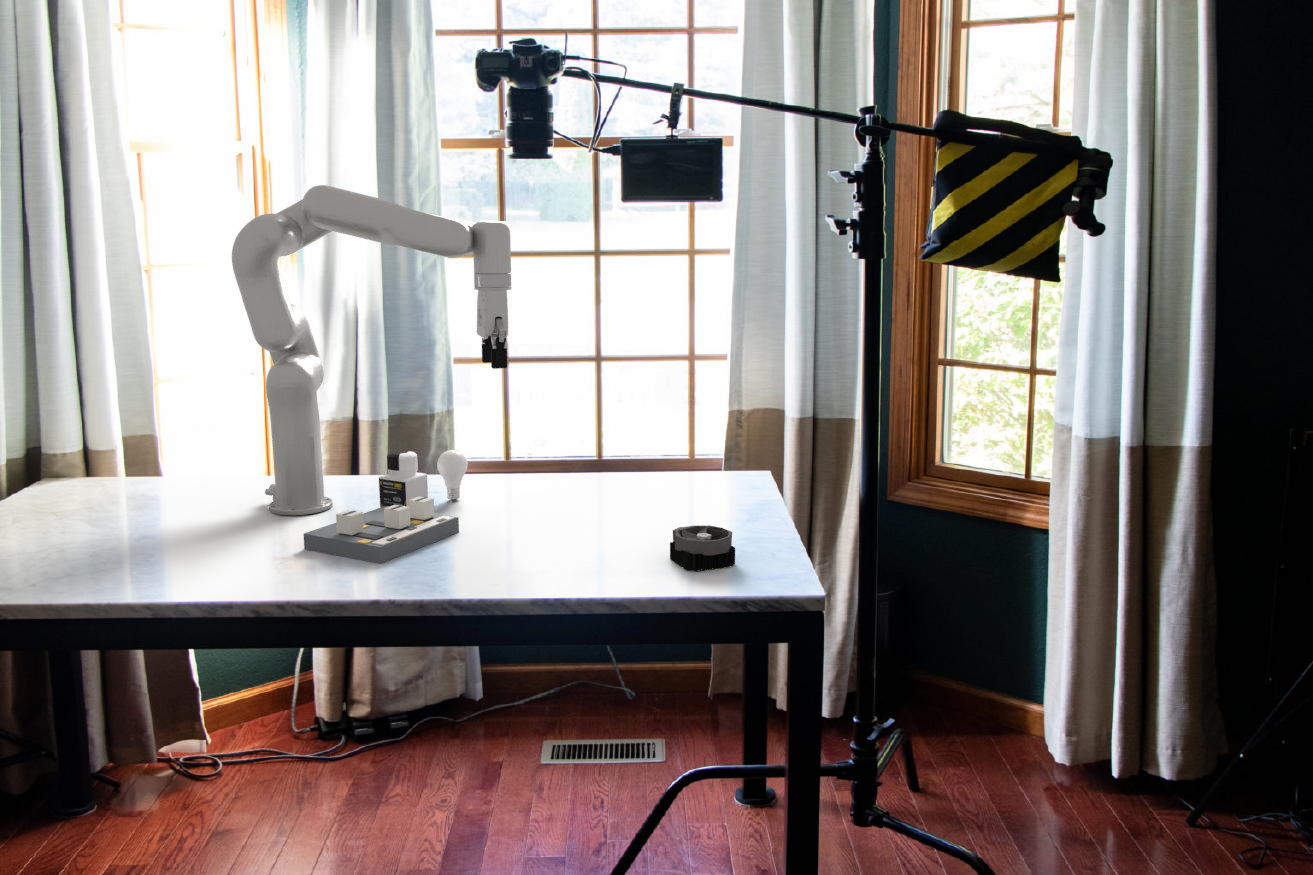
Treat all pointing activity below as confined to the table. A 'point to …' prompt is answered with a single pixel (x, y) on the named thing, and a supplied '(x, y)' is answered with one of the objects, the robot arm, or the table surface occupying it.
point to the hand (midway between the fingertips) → (494, 365)
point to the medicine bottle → (402, 480)
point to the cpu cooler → (702, 548)
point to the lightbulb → (452, 471)
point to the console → (380, 537)
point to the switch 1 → (349, 522)
